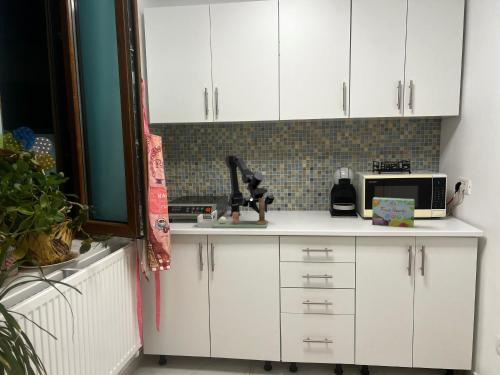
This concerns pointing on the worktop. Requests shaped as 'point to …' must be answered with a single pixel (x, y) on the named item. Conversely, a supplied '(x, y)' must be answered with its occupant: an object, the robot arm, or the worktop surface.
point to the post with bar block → (260, 221)
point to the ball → (222, 220)
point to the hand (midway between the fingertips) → (262, 212)
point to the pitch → (227, 224)
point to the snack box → (393, 212)
